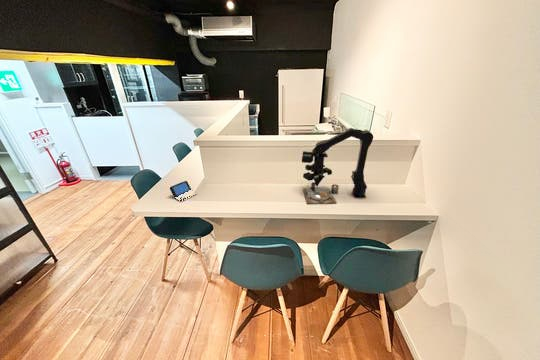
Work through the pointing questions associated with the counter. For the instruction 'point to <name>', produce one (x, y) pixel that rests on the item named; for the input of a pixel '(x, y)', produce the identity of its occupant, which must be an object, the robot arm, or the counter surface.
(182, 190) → the handheld game console
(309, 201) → the sprocket base
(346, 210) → the counter surface
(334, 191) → the roller
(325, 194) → the sprocket
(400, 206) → the counter surface
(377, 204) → the counter surface
